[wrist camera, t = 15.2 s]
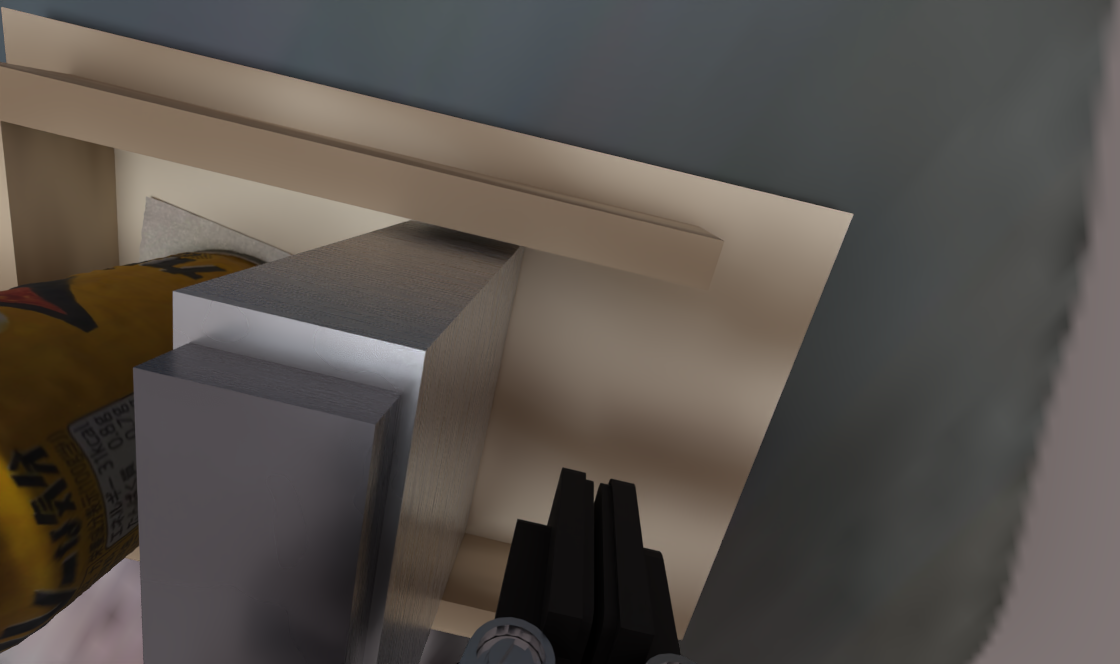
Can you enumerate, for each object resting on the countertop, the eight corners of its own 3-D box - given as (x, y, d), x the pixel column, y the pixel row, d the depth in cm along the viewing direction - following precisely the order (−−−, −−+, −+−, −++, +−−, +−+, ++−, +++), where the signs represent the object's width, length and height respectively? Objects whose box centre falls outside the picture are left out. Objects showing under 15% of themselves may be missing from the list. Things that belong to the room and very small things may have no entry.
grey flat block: (466, 528, 18) (319, 945, 9) (383, 508, 18) (140, 905, 8) (526, 239, 15) (401, 378, 5) (425, 215, 15) (112, 309, 5)
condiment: (151, 195, 15) (-1081, 279, 4) (418, 305, 16) (-17, 652, 5) (121, 399, 18) (-731, 820, 6) (356, 489, 18) (-40, 1028, 7)
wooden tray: (677, 613, 21) (697, 722, 17) (80, 474, 20) (-46, 550, 16) (834, 210, 16) (917, 225, 12) (45, 18, 15) (-149, -34, 11)
